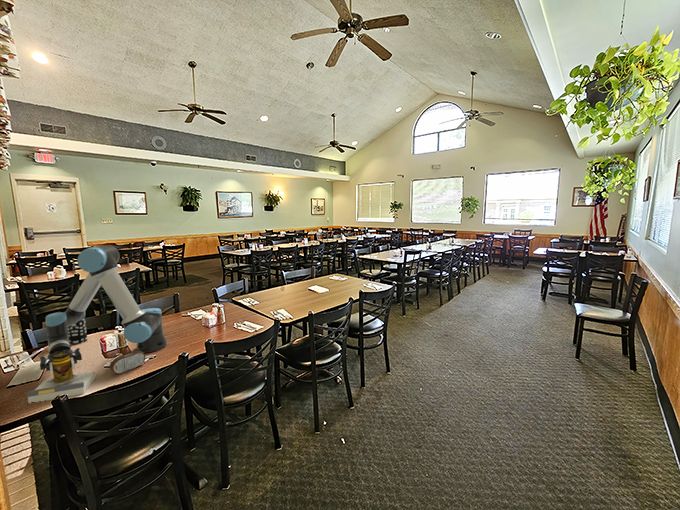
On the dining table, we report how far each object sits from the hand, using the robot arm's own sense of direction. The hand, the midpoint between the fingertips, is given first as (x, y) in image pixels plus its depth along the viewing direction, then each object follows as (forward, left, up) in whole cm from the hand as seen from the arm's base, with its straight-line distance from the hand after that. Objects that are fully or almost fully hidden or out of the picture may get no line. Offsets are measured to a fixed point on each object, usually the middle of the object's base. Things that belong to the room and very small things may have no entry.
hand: (62, 368), depth 125 cm
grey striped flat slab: (+2, -4, -12) cm, 13 cm away
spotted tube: (+16, -62, -12) cm, 65 cm away
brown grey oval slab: (-20, -13, -12) cm, 27 cm away
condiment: (+2, -5, -7) cm, 9 cm away
